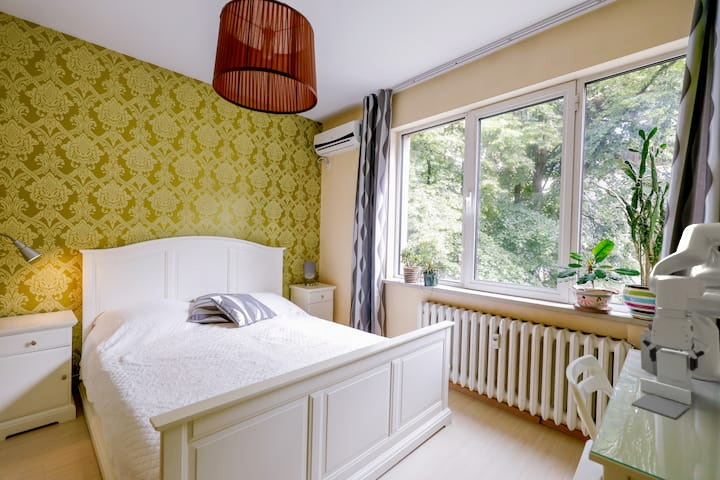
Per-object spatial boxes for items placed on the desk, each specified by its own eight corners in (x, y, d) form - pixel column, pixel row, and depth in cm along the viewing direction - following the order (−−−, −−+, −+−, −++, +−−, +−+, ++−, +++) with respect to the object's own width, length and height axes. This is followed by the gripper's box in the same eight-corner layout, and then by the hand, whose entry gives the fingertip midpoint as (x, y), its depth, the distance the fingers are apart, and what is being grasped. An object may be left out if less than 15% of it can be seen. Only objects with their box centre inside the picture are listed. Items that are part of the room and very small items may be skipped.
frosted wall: (642, 389, 110) (641, 377, 110) (691, 403, 100) (690, 390, 100) (640, 390, 109) (640, 378, 109) (689, 404, 99) (689, 391, 99)
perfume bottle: (674, 375, 121) (672, 327, 121) (653, 374, 122) (651, 326, 122) (661, 368, 127) (659, 322, 128) (641, 367, 129) (639, 322, 129)
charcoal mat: (647, 394, 106) (647, 393, 106) (689, 407, 97) (689, 406, 97) (631, 404, 100) (631, 403, 100) (675, 419, 91) (675, 417, 91)
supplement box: (692, 391, 108) (691, 353, 108) (687, 397, 104) (685, 357, 104) (663, 383, 114) (662, 347, 115) (656, 389, 110) (655, 351, 110)
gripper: (712, 317, 104) (713, 371, 103) (644, 308, 119) (644, 356, 118) (704, 319, 100) (706, 376, 100) (635, 310, 115) (636, 359, 114)
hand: (672, 365), depth 109 cm, fingers open, 9 cm apart
